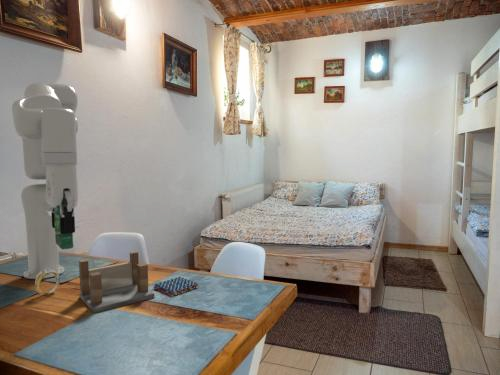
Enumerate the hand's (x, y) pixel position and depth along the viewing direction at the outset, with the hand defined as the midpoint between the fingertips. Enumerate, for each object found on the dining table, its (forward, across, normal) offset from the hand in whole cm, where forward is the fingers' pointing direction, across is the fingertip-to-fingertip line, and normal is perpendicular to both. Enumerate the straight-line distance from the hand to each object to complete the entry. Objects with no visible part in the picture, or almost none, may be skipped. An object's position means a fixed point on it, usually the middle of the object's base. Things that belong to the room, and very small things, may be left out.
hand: (63, 229), depth 94 cm
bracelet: (+24, -22, 0) cm, 32 cm away
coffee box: (+4, 0, 0) cm, 4 cm away
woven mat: (+24, -2, +32) cm, 40 cm away
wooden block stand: (+23, -6, +15) cm, 28 cm away
